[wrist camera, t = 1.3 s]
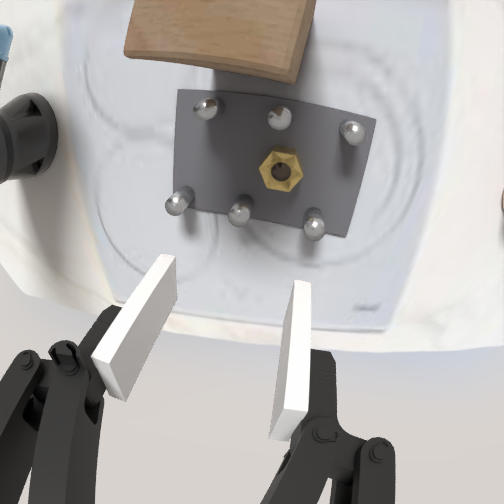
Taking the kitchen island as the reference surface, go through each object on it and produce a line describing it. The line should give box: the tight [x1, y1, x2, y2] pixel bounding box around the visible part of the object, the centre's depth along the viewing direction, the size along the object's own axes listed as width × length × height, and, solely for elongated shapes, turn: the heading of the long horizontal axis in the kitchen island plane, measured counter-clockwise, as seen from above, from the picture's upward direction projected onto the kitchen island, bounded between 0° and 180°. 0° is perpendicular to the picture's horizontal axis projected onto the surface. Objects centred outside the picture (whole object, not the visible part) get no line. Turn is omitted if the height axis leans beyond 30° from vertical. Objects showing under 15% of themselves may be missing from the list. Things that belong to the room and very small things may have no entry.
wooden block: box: [123, 0, 316, 84], centre depth 19 cm, size 10×10×20 cm
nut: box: [259, 146, 303, 192], centre depth 33 cm, size 5×4×4 cm
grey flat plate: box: [173, 89, 376, 236], centre depth 35 cm, size 24×16×1 cm, turn 82°
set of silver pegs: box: [165, 98, 367, 241], centre depth 33 cm, size 21×14×4 cm
